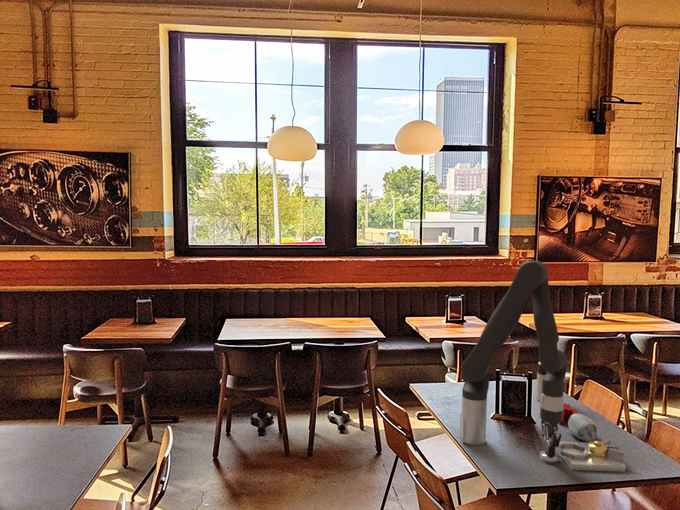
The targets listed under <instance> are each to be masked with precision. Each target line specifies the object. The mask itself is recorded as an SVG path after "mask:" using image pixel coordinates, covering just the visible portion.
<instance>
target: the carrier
mask: <svg viewBox="0 0 680 510" xmlns="http://www.w3.org/2000/svg"><path fill="white" fill-rule="evenodd" d="M611 443H612V440H611V439H608V438H605V439H603V440H601V441H600V440H594V441H593V442H586V441H583V442H581V441H579V442H577V441H560V443H559V447H555V452H556V453H557V454H558V455H559V457H561V459H562V460H563V461H564V462H565V464H567V466H568V467H569V469H571V471H595V472H596V471H597V472H598V471H601V472H624V473H625V472H627V471H626V468H627V466H626V465H625V463H623V462H624V457H625V456H624V454H625V452H624V451H622V450H619V449H620V446H619V445H618V444H611Z"/></svg>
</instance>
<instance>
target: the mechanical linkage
mask: <svg viewBox="0 0 680 510" xmlns="http://www.w3.org/2000/svg"><path fill="white" fill-rule="evenodd" d="M573 414H579V412H578V409H574V408H571V404H570V403H564V404H563V421H562V422H561V423H558V425H564V424H565V421H567V422H568V421H569V418H570V417H571V415H573Z"/></svg>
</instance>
